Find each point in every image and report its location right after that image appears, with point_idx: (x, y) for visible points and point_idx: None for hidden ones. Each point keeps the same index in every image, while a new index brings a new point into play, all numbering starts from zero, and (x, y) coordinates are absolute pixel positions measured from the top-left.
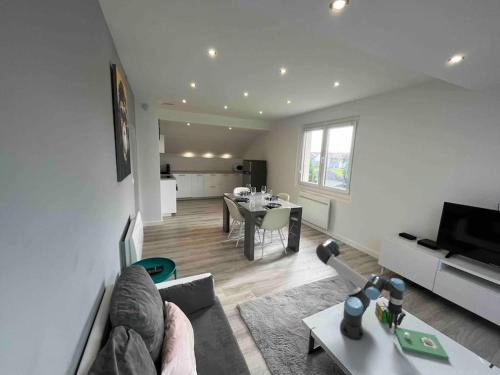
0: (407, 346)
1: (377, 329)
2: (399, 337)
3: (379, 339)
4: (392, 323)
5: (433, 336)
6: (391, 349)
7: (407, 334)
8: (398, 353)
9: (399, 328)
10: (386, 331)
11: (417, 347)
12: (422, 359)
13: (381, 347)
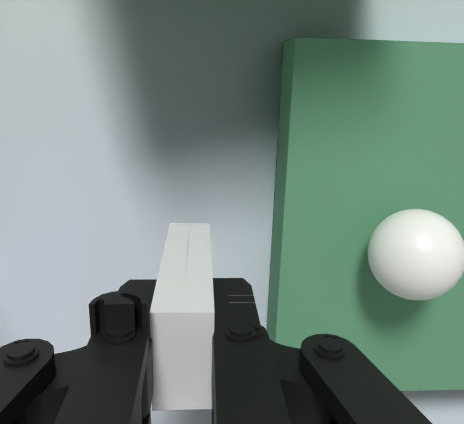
0: None
1: (25, 114)
2: (291, 261)
3: (28, 294)
4: (179, 347)
5: None
6: None
7: (426, 291)
8: (206, 417)
9: (371, 60)
10: (157, 117)
11: (454, 356)
12: (426, 412)
13: None
